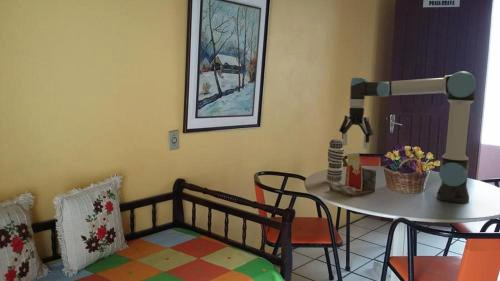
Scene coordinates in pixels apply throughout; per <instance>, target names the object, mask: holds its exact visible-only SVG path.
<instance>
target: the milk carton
mask: <svg viewBox="0 0 500 281" xmlns="http://www.w3.org/2000/svg"><path fill="white" fill-rule="evenodd" d="M360 153H361V152H355V153H353V154H346V155H345V156H346V157H347V162H346V168H345V169H346V171H345V179H344V185H346V186H349V187H353V188H356V191H362V168H361V167H362V164H361V160H360Z"/></svg>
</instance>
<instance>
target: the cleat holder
mask: <svg viewBox="0 0 500 281" xmlns="http://www.w3.org/2000/svg"><path fill="white" fill-rule="evenodd" d="M361 168H362V191H356V188H353V187H349V186H346V185H345V184H341V183H334V182H328V185H329V186H328V188H329V191H331V192H334V193H338V194H341V195H345V196H348V197H352V198H356V197H358V196H359V197H360V196H363V195H366V194H371V193H375V191H376V181H377V170H376V169H373V168H367V167H362V166H361Z"/></svg>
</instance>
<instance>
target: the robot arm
mask: <svg viewBox="0 0 500 281" xmlns="http://www.w3.org/2000/svg"><path fill="white" fill-rule="evenodd" d="M477 83H478V82H477V79H476V77H475V76H474V75H473V73H471V72H469V71H464V70H462V71H461V70H460V71H457V72H455V73H453V74H448V75H444V77H438V78H437V77H436V78H422V79H420V78H419V79H407V80H406V79H405V80H393V81H367V80H366V77H352V78H351V80H350V91H349V94H350V95H349V96H350V97H349V110H348V111H349V112H348V114H349V115H347V114H346V115H344V119H343V121H342V122H341V123H342V124H341V126H340V127H339V130H338V131H339V132H340V133H341V139H342V142H343V146H348V131H349V130H350V128H352V126H353V125H355V126H359V128H360V129H361V131H362V132H363V134H364V136H363V146H362V149H364V150H367V149H368V147H369V143H370V138H371V136H373V135H374V133H373V130H372V127H371V125H370V124H371V123H370V121H369V119H370V118H369V117H368V116H366V117H364V114H365V108H364V107H365V100H366V99H365V98H366V97H376V98H377V97H379V98H382V97H383V98H384V97H385V98H386V97H389V96H390V97H391V96H402V95H403V96H409V95H425V94H426V95H427V94H429V95H430V94H445V95H446V96H447V97H446V101H447V102H448V103H449V114H448V123H447V134H446V143H445V144H446V146H445V153H444V154H442V156H441V163H440V169H439V172H438V174H439V177H440V178H439V179H440V180H441V184H440V185H439V188H438V190H437V192H436V199H437V200H440V201H442V202H446V203H454V204H466V203H468V202H470V194H469V192H468V187H467V185H468V184H467V183H468V174H469V164H470V158H469V156H467V155H466V151H467V144H468V143H467V141H468V132H469V131H468V130H469V123H470V122H469V121H470V114H471V113H470V111H471V105H472V104H473V103H474V102H475V98H476V88H477Z"/></svg>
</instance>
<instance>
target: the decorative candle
mask: <svg viewBox="0 0 500 281" xmlns="http://www.w3.org/2000/svg"><path fill="white" fill-rule="evenodd" d="M344 154H345V153H344V149H343V140H341V139H338V138H337V139H335V138H334V139H330V141H329V147H328V149H327V163H328V166H327V170H326V171H327V172H326V173H327V175H326V182H327V183H329V182H334V183H338V184H341V183H342V174H343V170H342V168H343V167H342V165H343V160H344V158H343V157H344Z"/></svg>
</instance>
